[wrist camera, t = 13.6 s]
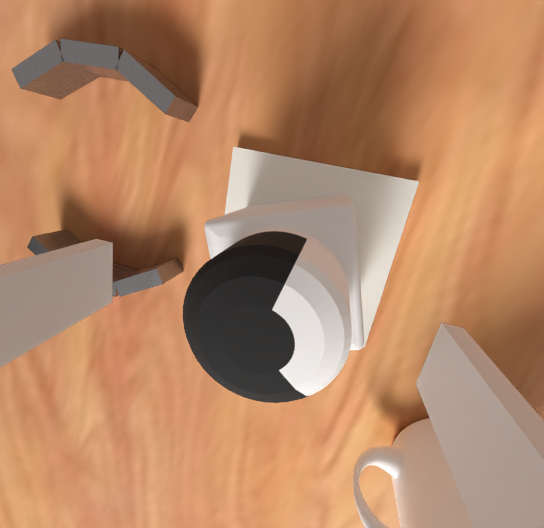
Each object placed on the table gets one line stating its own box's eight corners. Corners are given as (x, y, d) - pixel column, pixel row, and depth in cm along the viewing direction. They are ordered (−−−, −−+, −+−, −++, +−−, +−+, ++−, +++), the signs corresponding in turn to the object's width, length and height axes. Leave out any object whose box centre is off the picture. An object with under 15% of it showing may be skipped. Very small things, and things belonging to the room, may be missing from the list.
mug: (368, 381, 24) (391, 534, 14) (528, 437, 22) (686, 656, 12) (334, 457, 26) (331, 630, 16) (474, 511, 25) (565, 739, 15)
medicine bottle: (260, 300, 23) (182, 424, 11) (244, 206, 21) (134, 243, 10) (357, 296, 21) (377, 436, 10) (349, 193, 19) (365, 218, 8)
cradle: (61, 262, 27) (29, 272, 24) (51, 49, 21) (7, 30, 19) (181, 294, 25) (161, 309, 22) (201, 72, 20) (178, 55, 17)
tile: (216, 301, 24) (212, 305, 24) (237, 147, 21) (233, 146, 20) (363, 341, 23) (364, 347, 22) (415, 181, 19) (419, 181, 18)
